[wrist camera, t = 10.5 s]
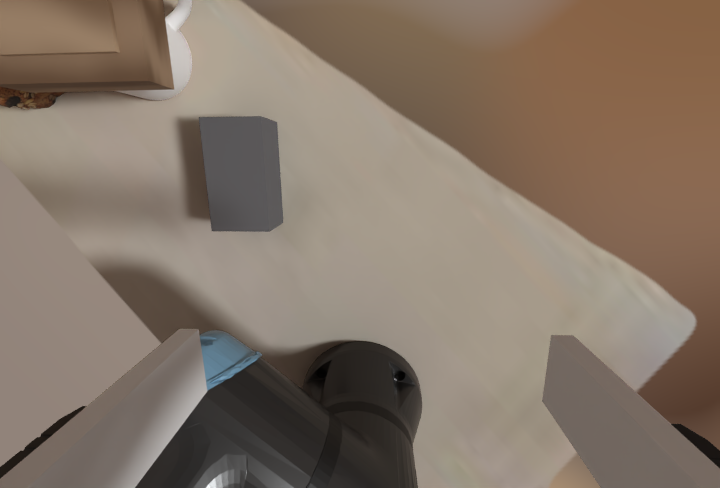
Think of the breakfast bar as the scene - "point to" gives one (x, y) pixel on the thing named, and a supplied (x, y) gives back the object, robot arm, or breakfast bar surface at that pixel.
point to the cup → (173, 55)
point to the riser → (242, 173)
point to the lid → (84, 45)
